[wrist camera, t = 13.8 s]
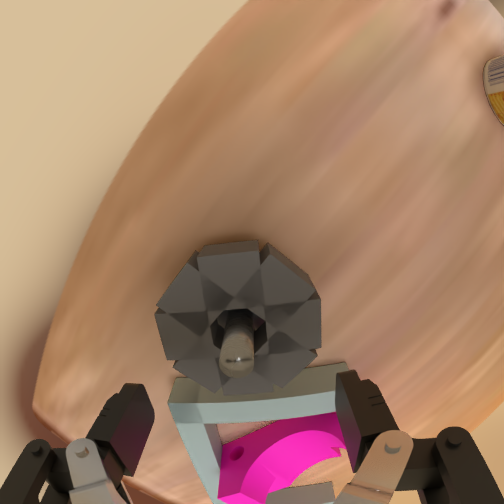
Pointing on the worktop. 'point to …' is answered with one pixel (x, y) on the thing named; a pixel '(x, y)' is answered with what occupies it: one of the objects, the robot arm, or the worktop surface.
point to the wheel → (238, 297)
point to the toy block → (276, 456)
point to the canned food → (495, 85)
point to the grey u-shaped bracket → (251, 410)
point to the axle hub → (238, 341)
